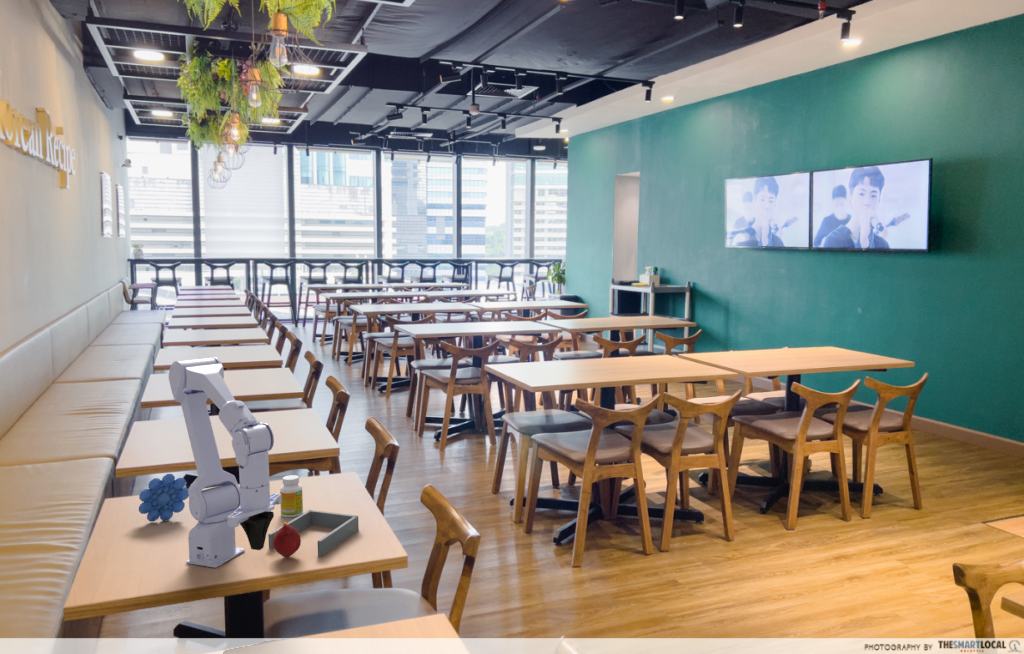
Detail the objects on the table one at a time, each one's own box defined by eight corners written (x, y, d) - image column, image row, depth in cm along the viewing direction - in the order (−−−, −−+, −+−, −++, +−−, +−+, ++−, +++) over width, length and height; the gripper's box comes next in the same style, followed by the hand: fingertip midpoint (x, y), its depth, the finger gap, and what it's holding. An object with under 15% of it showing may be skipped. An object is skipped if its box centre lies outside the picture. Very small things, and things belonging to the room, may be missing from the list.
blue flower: (191, 512, 183) (189, 467, 182) (190, 521, 177) (188, 474, 176) (141, 518, 179) (139, 472, 178) (138, 527, 173) (135, 479, 171)
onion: (305, 552, 158) (304, 518, 157) (295, 563, 152) (293, 527, 151) (280, 551, 158) (279, 517, 158) (269, 562, 153) (267, 526, 152)
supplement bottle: (299, 518, 179) (297, 480, 178) (277, 517, 179) (276, 480, 178) (305, 510, 184) (304, 474, 183) (285, 510, 184) (283, 474, 183)
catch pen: (321, 556, 156) (320, 541, 155) (268, 548, 160) (268, 534, 160) (358, 529, 171) (358, 515, 171) (310, 523, 175) (309, 509, 175)
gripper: (247, 497, 136) (250, 565, 137) (292, 475, 150) (295, 537, 151) (217, 493, 138) (220, 560, 139) (264, 472, 152) (267, 533, 153)
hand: (257, 548), depth 145 cm, fingers closed
